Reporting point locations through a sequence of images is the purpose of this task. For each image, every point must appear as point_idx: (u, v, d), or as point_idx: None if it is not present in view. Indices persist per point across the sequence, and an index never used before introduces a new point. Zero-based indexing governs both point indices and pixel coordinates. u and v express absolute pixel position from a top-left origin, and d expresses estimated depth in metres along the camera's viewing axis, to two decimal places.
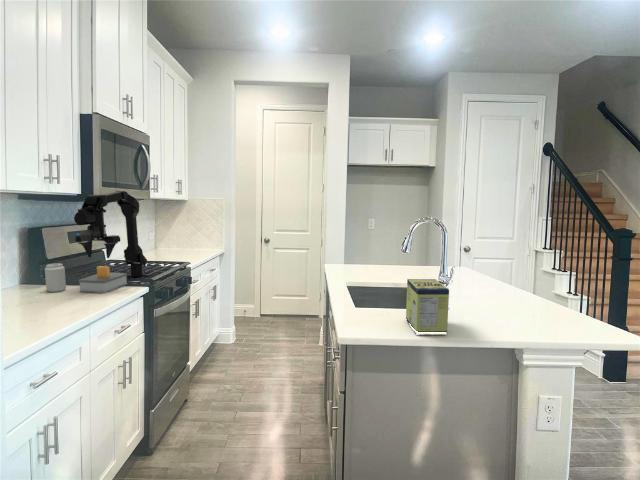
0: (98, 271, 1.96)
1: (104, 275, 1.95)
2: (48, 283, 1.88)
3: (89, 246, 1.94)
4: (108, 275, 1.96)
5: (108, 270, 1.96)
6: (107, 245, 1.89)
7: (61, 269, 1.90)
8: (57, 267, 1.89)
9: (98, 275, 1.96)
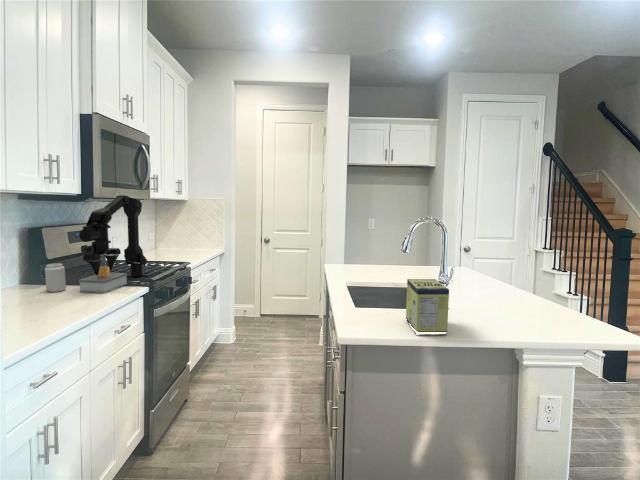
0: None
1: (104, 275, 1.95)
2: (48, 283, 1.88)
3: (110, 260, 2.01)
4: (108, 275, 1.96)
5: (108, 270, 1.96)
6: None
7: (61, 269, 1.90)
8: (57, 267, 1.89)
9: (98, 275, 1.96)
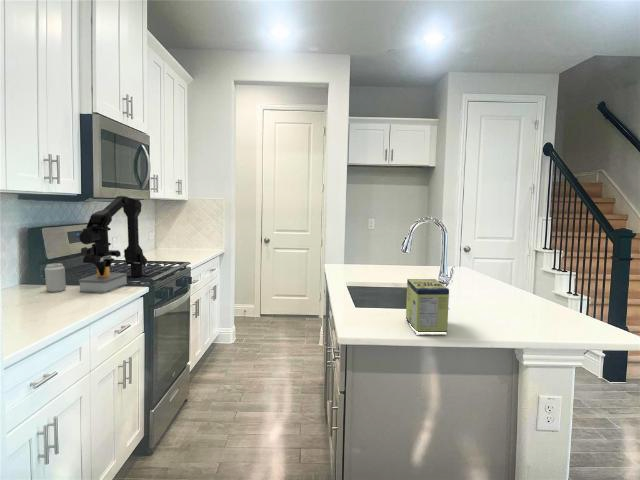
0: (98, 271, 1.96)
1: (104, 275, 1.95)
2: (48, 283, 1.88)
3: (106, 264, 1.97)
4: (108, 275, 1.96)
5: (108, 270, 1.96)
6: None
7: (61, 269, 1.90)
8: (57, 267, 1.89)
9: (98, 275, 1.96)
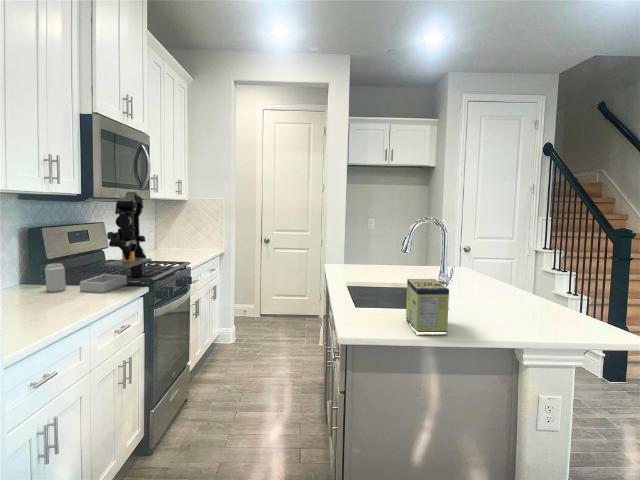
0: (123, 256, 1.98)
1: (129, 260, 1.98)
2: (48, 283, 1.88)
3: (131, 248, 2.00)
4: (133, 260, 1.99)
5: (133, 255, 1.98)
6: None
7: (61, 269, 1.90)
8: (57, 267, 1.89)
9: (123, 260, 1.98)
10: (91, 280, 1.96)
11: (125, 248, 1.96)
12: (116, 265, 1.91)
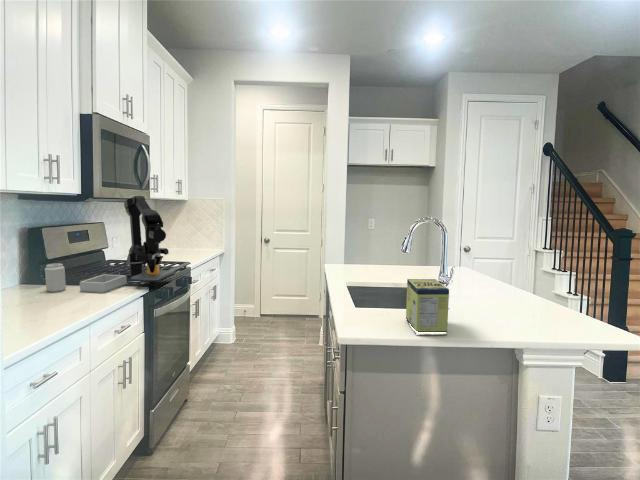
0: (148, 268, 2.02)
1: (154, 272, 2.02)
2: (48, 283, 1.88)
3: (155, 261, 2.04)
4: (158, 272, 2.03)
5: (158, 267, 2.03)
6: None
7: (61, 269, 1.90)
8: (57, 267, 1.89)
9: (148, 272, 2.03)
10: (91, 280, 1.96)
11: (150, 261, 2.00)
12: (143, 278, 1.95)
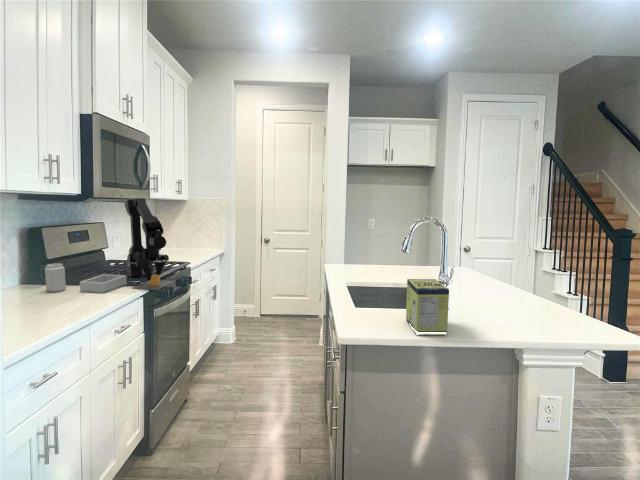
0: None
1: (155, 283, 2.03)
2: (48, 283, 1.88)
3: (159, 266, 2.07)
4: (158, 283, 2.04)
5: (158, 278, 2.03)
6: None
7: (61, 269, 1.90)
8: (57, 267, 1.89)
9: (149, 283, 2.03)
10: (91, 280, 1.96)
11: (147, 269, 1.98)
12: None
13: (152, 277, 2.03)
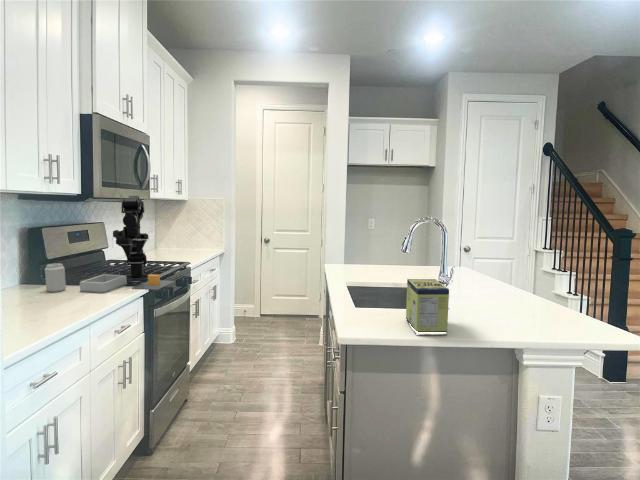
0: (149, 279, 2.03)
1: (155, 283, 2.03)
2: (48, 283, 1.88)
3: (139, 244, 2.12)
4: (158, 283, 2.04)
5: (158, 278, 2.03)
6: None
7: (61, 269, 1.90)
8: (57, 267, 1.89)
9: (149, 283, 2.03)
10: (91, 280, 1.96)
11: (126, 247, 2.01)
12: None
13: (152, 277, 2.03)
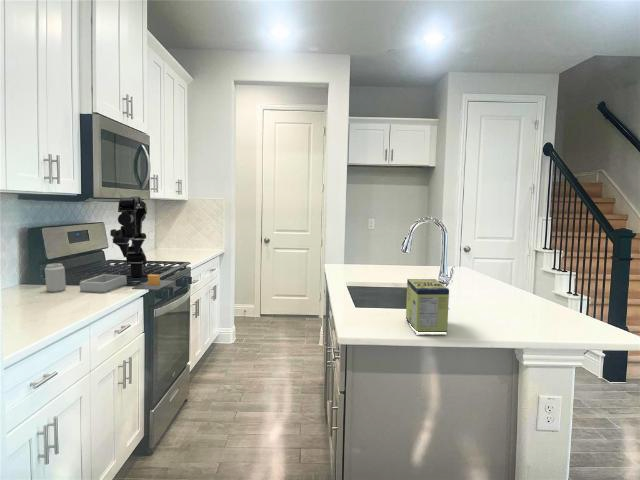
0: (149, 279, 2.03)
1: (155, 283, 2.03)
2: (48, 283, 1.88)
3: (137, 244, 2.12)
4: (158, 283, 2.04)
5: (158, 278, 2.03)
6: None
7: (61, 269, 1.90)
8: (57, 267, 1.89)
9: (149, 283, 2.03)
10: (91, 280, 1.96)
11: (123, 246, 2.02)
12: None
13: (152, 277, 2.03)
